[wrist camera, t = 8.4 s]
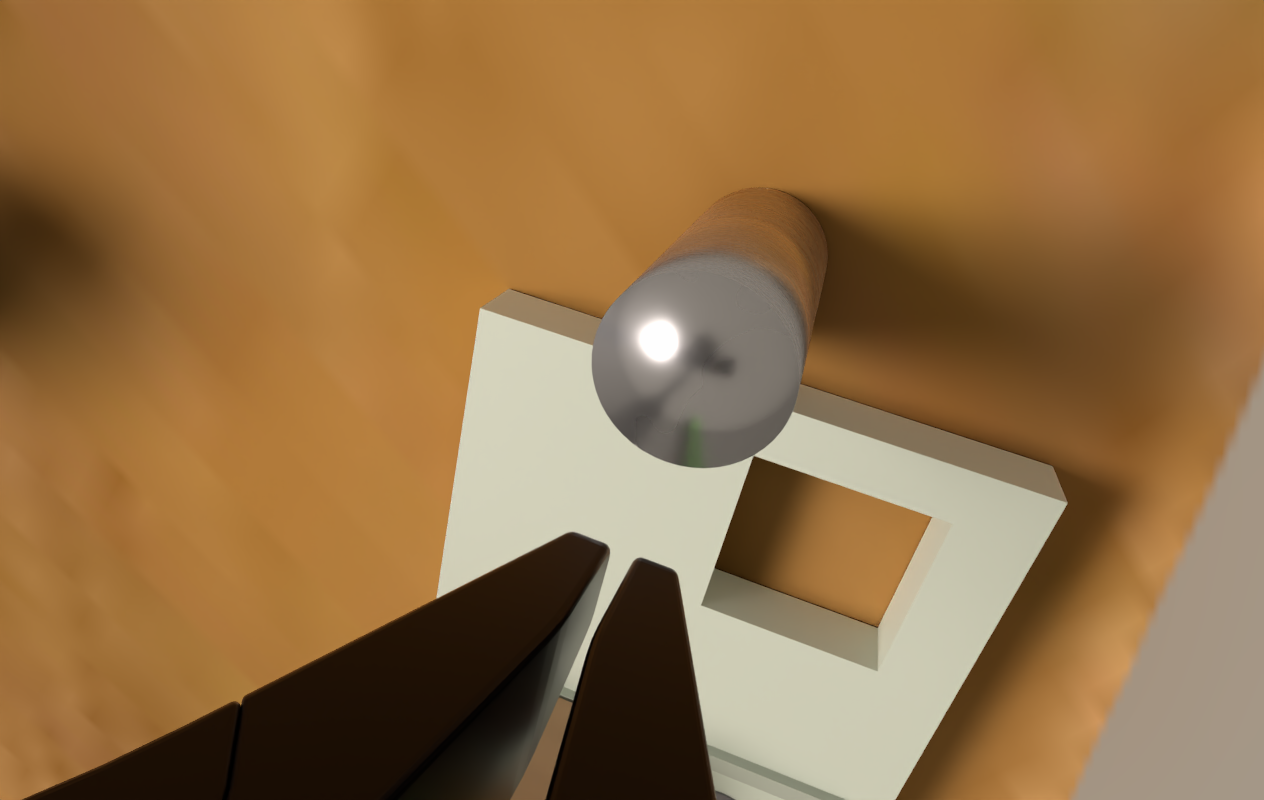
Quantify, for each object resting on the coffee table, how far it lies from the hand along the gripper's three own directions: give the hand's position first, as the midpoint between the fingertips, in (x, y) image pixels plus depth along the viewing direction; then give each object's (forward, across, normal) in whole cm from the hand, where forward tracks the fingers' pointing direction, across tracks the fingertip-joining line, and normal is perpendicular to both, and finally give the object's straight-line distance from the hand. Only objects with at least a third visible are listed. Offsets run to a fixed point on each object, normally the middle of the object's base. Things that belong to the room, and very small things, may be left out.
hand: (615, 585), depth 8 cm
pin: (+12, 0, 0) cm, 12 cm away
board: (+11, -1, +10) cm, 15 cm away
